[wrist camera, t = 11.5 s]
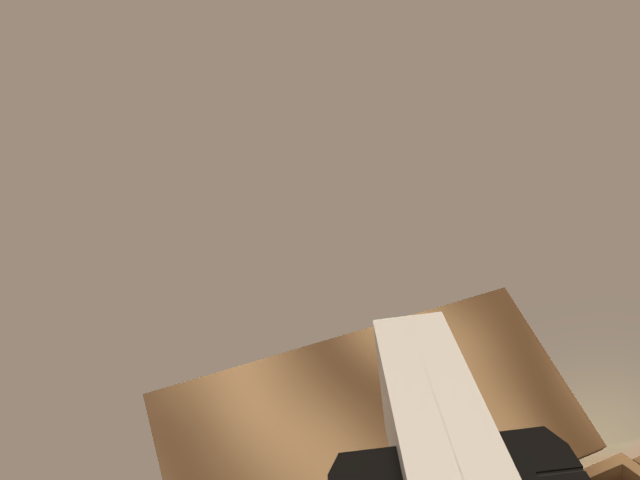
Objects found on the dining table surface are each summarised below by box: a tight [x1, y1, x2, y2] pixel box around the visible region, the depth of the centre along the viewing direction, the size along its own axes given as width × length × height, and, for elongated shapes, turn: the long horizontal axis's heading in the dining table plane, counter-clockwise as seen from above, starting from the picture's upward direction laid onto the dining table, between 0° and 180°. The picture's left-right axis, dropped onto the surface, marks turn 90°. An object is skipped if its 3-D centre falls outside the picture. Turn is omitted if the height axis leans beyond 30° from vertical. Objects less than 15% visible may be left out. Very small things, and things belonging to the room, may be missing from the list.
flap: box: [143, 288, 607, 480], centre depth 25 cm, size 17×8×1 cm
